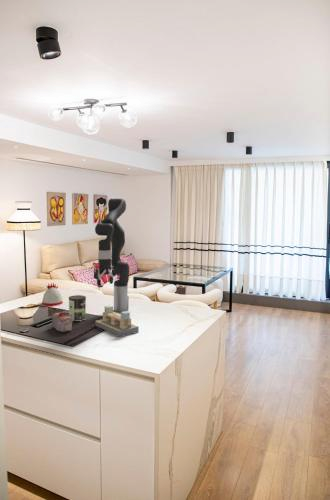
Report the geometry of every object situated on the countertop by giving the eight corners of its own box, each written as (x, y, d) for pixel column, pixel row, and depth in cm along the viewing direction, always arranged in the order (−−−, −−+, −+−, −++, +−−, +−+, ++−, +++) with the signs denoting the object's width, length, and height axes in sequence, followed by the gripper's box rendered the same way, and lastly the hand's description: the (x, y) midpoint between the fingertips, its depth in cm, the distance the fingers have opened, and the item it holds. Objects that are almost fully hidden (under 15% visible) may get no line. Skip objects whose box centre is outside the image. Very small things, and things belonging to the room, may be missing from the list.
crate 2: (125, 317, 207) (125, 311, 207) (129, 318, 205) (129, 312, 204) (120, 318, 205) (120, 312, 204) (124, 319, 202) (124, 313, 202)
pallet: (110, 318, 220) (110, 310, 220) (131, 327, 206) (131, 318, 205) (102, 320, 216) (102, 312, 216) (123, 329, 202) (123, 320, 201)
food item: (74, 331, 206) (74, 314, 205) (61, 334, 200) (61, 316, 199) (62, 325, 215) (61, 309, 214) (49, 328, 210) (49, 311, 209)
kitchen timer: (41, 301, 267) (41, 281, 266) (60, 300, 273) (60, 280, 272) (43, 306, 255) (43, 285, 253) (64, 304, 261) (63, 284, 259)
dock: (113, 321, 224) (113, 316, 224) (138, 331, 207) (138, 326, 207) (95, 325, 215) (95, 320, 215) (119, 336, 198) (119, 331, 198)
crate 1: (109, 311, 219) (109, 305, 218) (112, 312, 216) (112, 306, 216) (104, 312, 216) (104, 306, 216) (107, 313, 214) (107, 307, 213)
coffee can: (88, 317, 231) (88, 295, 230) (81, 322, 221) (81, 299, 220) (73, 316, 233) (73, 294, 232) (65, 321, 223) (65, 298, 222)
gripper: (110, 255, 223) (110, 281, 225) (90, 258, 213) (91, 285, 215) (118, 257, 218) (118, 283, 220) (98, 259, 207) (98, 287, 210)
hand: (105, 284), depth 217 cm, fingers open, 8 cm apart
